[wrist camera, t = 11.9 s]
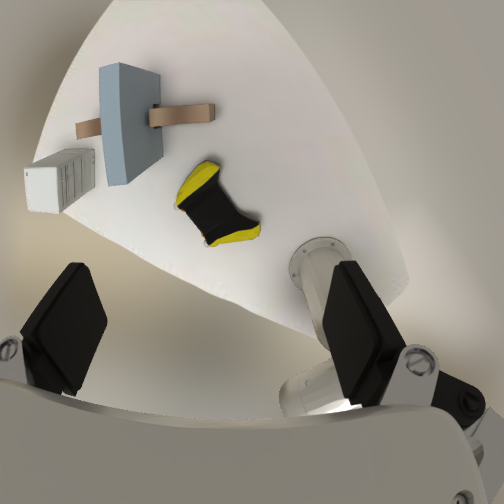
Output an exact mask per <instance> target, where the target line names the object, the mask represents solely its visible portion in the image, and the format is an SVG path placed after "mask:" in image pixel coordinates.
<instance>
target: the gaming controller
mask: <svg viewBox="0 0 504 504" xmlns="http://www.w3.org/2000/svg"><path fill="white" fill-rule="evenodd" d="M220 169H221V166H220V165H219V164H217V163H214V162H211V161H207V160H206V161H204V162H202V163H200V164H199V165H198V166H197V167H196V168H195V169H194V171H193V172H192V173H191V174H190V175H189V177H188V178H187V179H186V181H185V182H184V184H183V186H182V187H181V189H180V190H179V192H178V195H177V199H176V202H175V203H174V209H175V210H179V209H181V211H184V212H186V214H187V215H188V216H189V218H190V219H191V220H192V221H193V223H194V224H195V225H196V226H197V228H198V229H199V230H200V231H201V234H202V236H203V237H204V238H205V241H204V245H205V247H215V246H217V245H219V244H224V243H231V242H237V241H245V240H252V239H254V238H256V237H257V236H259V234H260V231H261V226H260V221H258V220H256V219H254V218H251V217H249V216H247V215H245V214H243V213H241V212H240V211H239V210H238V209H237V208H236V207H235V205H234V204H233V203H232V201H231V200H230V198H229V197H228V196H227V194H226V193H225V192H224V190H223V189H222V187H221V186H220V184H219V182H218V179H219V173H220Z"/></svg>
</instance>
